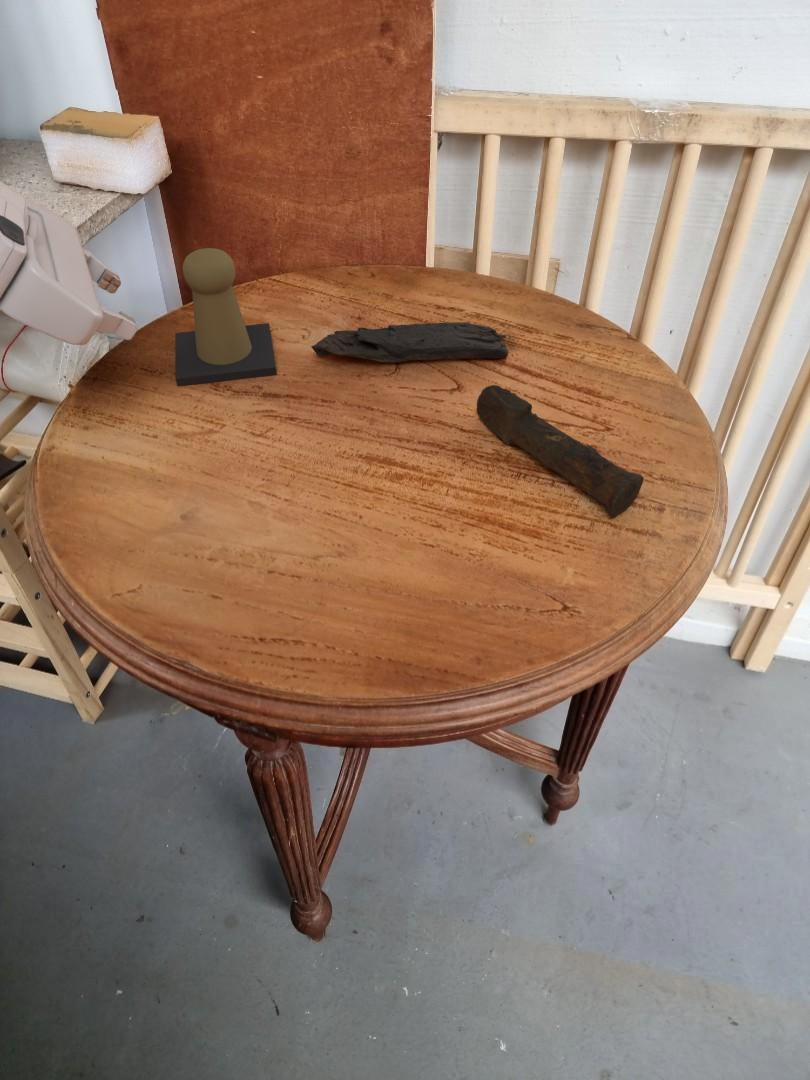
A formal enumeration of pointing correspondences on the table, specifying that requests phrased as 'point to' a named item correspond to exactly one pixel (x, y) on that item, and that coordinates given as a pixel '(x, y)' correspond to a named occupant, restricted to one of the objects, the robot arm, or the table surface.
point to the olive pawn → (216, 307)
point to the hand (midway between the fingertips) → (125, 307)
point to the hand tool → (557, 449)
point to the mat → (251, 366)
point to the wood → (415, 342)
